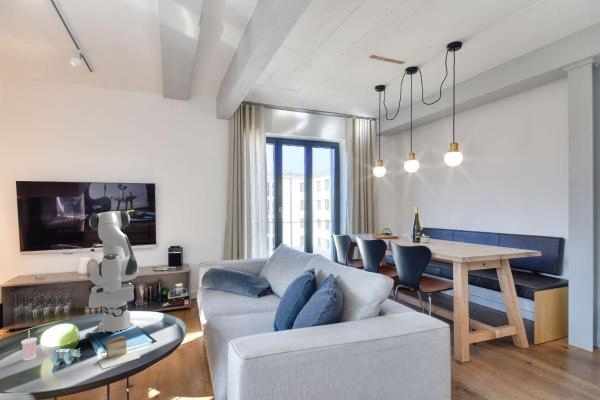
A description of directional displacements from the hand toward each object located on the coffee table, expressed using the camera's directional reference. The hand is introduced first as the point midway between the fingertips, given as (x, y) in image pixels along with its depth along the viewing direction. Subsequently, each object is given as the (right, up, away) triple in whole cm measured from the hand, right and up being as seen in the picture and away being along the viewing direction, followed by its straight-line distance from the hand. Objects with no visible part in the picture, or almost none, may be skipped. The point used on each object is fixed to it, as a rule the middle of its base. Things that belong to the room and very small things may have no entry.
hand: (112, 312), depth 170 cm
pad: (+10, -19, -12) cm, 24 cm away
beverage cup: (-37, -20, -7) cm, 43 cm away
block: (+6, -19, -6) cm, 21 cm away
